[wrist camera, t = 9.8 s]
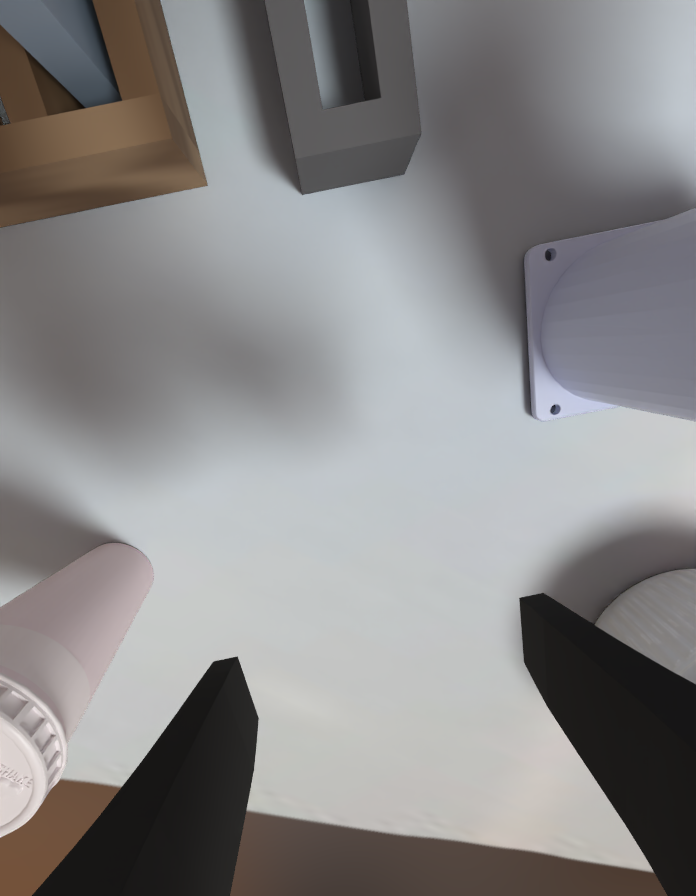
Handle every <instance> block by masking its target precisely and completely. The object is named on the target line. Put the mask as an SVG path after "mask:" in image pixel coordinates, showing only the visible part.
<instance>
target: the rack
mask: <svg viewBox="0 0 696 896" xmlns="http://www.w3.org/2000/svg"><path fill="white" fill-rule="evenodd" d="M92 1H93V4H94V7H95V11H96V14H97V18H98V21H99V24H100V28H101V31H102V34H103V38H104V41H105V44H106V48H107V51H108V55H109V58H110V61H111V65H112V68H113V71H114V75H115V78H116V81H117V85H118V88H119V92H120V95H121V98H122V101H119V102H114V103H109V104H104V105H99V106H94V107H89V108H85V107H84V106H83V105H82V104H81V103H80V102H79V101H78V100H77V99H76V98H75V97H74V96H73V95H72V94H71V93H70V92H69V91H68V90H67V89H66V88H65V87H64V86H63V85H62V84H61V83H60V82H59V81H58V80H57V79H56V78H55V77H54V76H53V75H52V74H50V73H49V72H48V71H47V70H46V69H45V68H44V67H43V66H42V65H41V64H40V63H39V62H38V61H37V60H36V59H35V58H34V57H33V56H32V55H31V54H30V53H29V52H28V51H27V50H26V49H25V48H24V47H23V46H22V45H21V44H20V43H19V42H18V41H17V40H16V39H15V38H14V37H13V36H12V35H10V34H9V33H8V32H7V31H6V30H5V29H4V28H3V27H2V26H1V25H0V97H1V99H2V102H3V105H4V107H5V110H6V113H7V115H8V118H9V121H10V123H11V124H6V125H3V122H2V119H1V117H0V227H5V226H10V225H15V224H20V223H25V222H30V221H35V220H40V219H45V218H50V217H55V216H60V215H64V214H69V213H74V212H79V211H84V210H89V209H94V208H99V207H104V206H109V205H114V204H119V203H124V202H129V201H134V200H139V199H144V198H149V197H154V196H158V195H163V194H168V193H173V192H178V191H183V190H188V189H193V188H198V187H203V186H208V185H207V181H206V177H205V173H204V169H203V166H202V162H201V158H200V154H199V150H198V146H197V142H196V138H195V134H194V131H193V127H192V123H191V119H190V115H189V111H188V107H187V103H186V99H185V96H184V92H183V88H182V84H181V80H180V76H179V72H178V68H177V64H176V61H175V57H174V53H173V49H172V45H171V41H170V37H169V33H168V30H167V26H166V22H165V18H164V14H163V10H162V6H161V2H160V0H92Z"/></svg>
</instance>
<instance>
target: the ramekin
mask: <svg viewBox="0 0 696 896" xmlns="http://www.w3.org/2000/svg"><path fill="white" fill-rule="evenodd" d="M595 626H597V627H598V628H600V629H602V630H603V631H605V632H606V633H608V634H610V635H611V636H613V637H615V638H616V639H618V640H619V641H621V642H623V643H624V644H626V645H628V646H629V647H631V648H633V649H634V650H636V651H638V652H640V653H641V654H643V655H645V656H646V657H648V658H650V659H652V660H653V661H655V662H657V663H659V664H660V665H662V666H664V667H665V668H667V669H669V670H671V671H673V672H674V673H676V674H678V675H680V676H682V677H684V678H685V679H687V680H689V681H691V682H693V683H694V684H696V569H681V570H674V571H669V572H665V573H661V574H658V575H655V576H653V577H650V578H648V579H645V580H643V581H641V582H639V583H637V584H636V585H634V586H632V587H631V588H629V589H628V590H626V591H625V592H623V593H622V594H621V595H619V596H618V597H617V598H616V599H615V600H614V601H613V602H612V603H611V604H610V605H609V606H608V607H607V608H606V609H605V610H604V611H603V613H602V614H601V615H600V617H599V618H598V620H597V621H596V623H595Z"/></svg>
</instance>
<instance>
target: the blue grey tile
mask: <svg viewBox="0 0 696 896" xmlns="http://www.w3.org/2000/svg"><path fill="white" fill-rule="evenodd" d="M0 25H1V26H2V27H3V28H4V29H5V30H6V31H7V32H8V33H9V34H10V35H12V36H13V37H14V38H15V39H16V40H17V41H18V42H19V43H20V44H21V45H22V46H23V47H24V48H25V49H26V50H27V51H28V52H29V53H30V54H31V55H32V56H33V57H34V58H35V59H36V60H37V61H38V62H39V63H40V64H41V65H42V66H43V67H44V68H45V69H46V70H47V71H48V72H49V73H50V74H52V75H53V76H54V77H55V78H56V79H57V80H58V81H59V82H60V83H61V84H62V85H63V86H64V87H65V88H66V89H67V90H68V91H69V92H70V93H71V94H72V95H73V96H74V97H75V98H76V99H77V100H78V101H79V102H80V103H81V104H82V105H83V106H84V107H85V108H89V107H94V106H99V105H104V104H109V103H114V102H119V101H122V98H121V95H120V92H119V88H118V85H117V81H116V78H115V75H114V71H113V68H112V65H111V61H110V58H109V55H108V51H107V48H106V44H105V41H104V38H103V34H102V31H101V28H100V24H99V21H98V18H97V14H96V11H95V7H94V4H93V1H92V0H0Z"/></svg>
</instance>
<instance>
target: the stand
mask: <svg viewBox="0 0 696 896" xmlns="http://www.w3.org/2000/svg"><path fill="white" fill-rule="evenodd" d="M264 2H265V7H266V12H267V17H268V22H269V27H270V33H271V38H272V43H273V48H274V53H275V58H276V63H277V68H278V73H279V79H280V84H281V89H282V94H283V99H284V104H285V109H286V114H287V119H288V125H289V130H290V135H291V140H292V145H293V150H294V155H295V160H296V165H297V171H298V176H299V181H300V186H301V191H302V195H304V194H309V193H314V192H319V191H324V190H328V189H333V188H338V187H343V186H348V185H353V184H358V183H363V182H368V181H373V180H378V179H383V178H388V177H393V176H398V175H403V174H404V173H405V171H406V169H407V166H408V164H409V161H410V159H411V157H412V154H413V152H414V150H415V147H416V145H417V142H418V140H419V138H420V135H421V126H420V117H419V108H418V99H417V90H416V81H415V72H414V63H413V54H412V45H411V36H410V27H409V18H408V9H407V0H350V2H351V9H352V15H353V22H354V29H355V36H356V43H357V50H358V57H359V64H360V71H361V78H362V85H363V92H364V98H365V101H364V102H359V103H354V104H349V105H344V106H339V107H334V108H330V109H325V110H323V109H322V104H321V98H320V92H319V86H318V80H317V75H316V69H315V63H314V57H313V51H312V46H311V40H310V34H309V28H308V22H307V17H306V11H305V5H304V0H264Z"/></svg>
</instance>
